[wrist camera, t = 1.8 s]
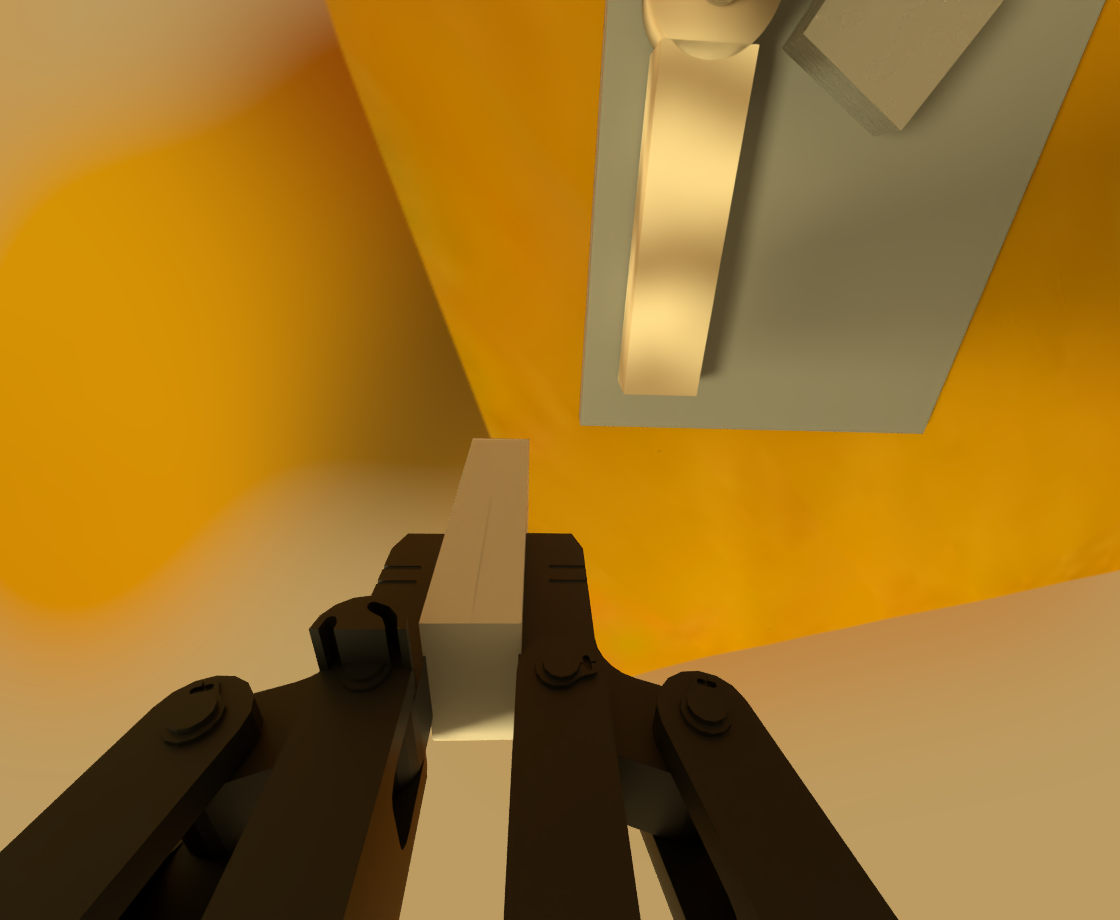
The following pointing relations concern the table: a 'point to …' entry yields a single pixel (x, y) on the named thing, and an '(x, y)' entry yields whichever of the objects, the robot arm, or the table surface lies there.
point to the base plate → (833, 229)
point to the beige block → (883, 52)
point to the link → (685, 184)
